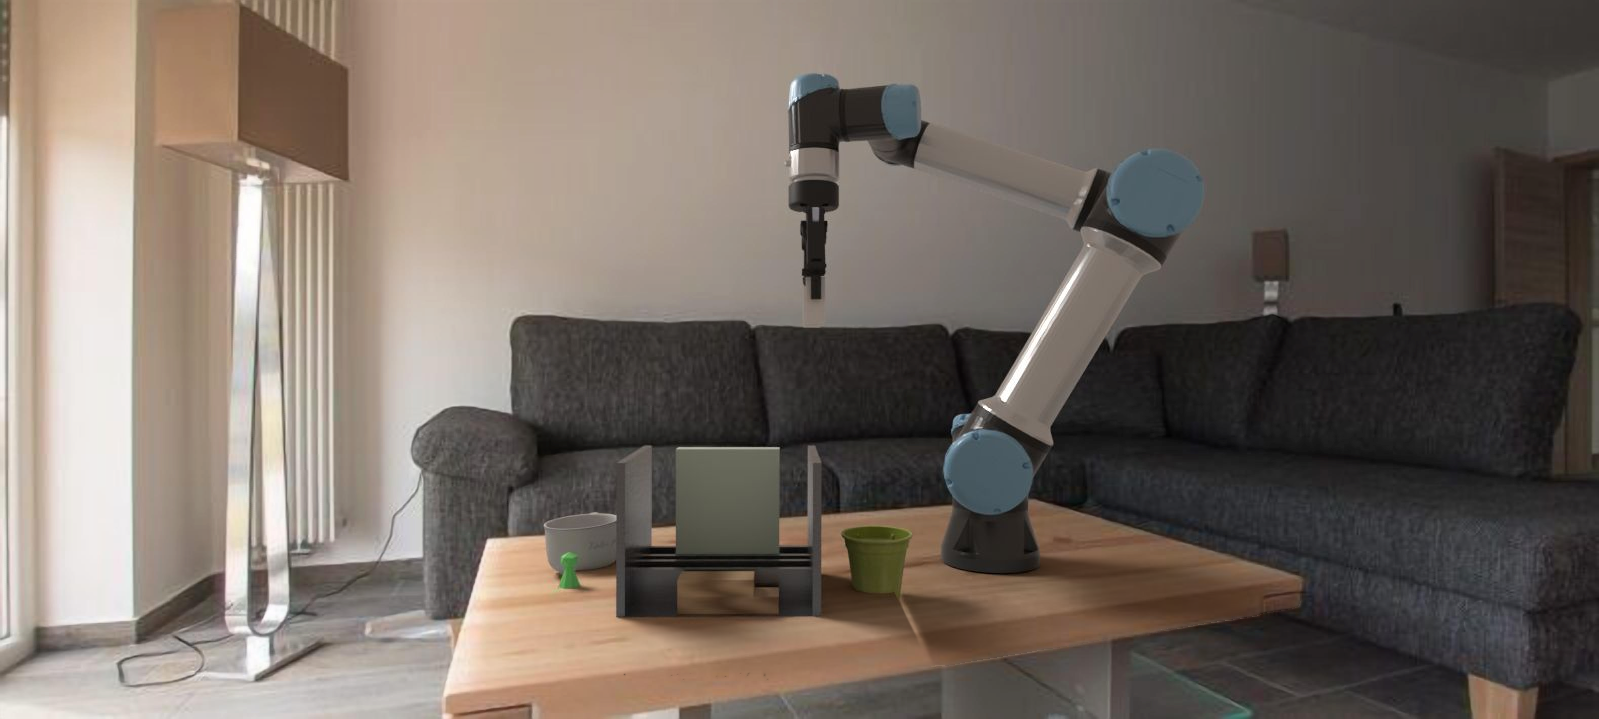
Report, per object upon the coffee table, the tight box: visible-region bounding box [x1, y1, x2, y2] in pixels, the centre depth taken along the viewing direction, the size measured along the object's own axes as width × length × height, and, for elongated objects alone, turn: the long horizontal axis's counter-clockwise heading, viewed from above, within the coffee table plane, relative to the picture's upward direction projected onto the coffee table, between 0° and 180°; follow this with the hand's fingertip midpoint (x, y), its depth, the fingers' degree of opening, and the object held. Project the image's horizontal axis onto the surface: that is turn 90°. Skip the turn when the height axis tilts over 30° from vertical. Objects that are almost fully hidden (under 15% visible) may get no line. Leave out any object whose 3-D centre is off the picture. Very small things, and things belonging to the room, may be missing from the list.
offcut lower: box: [677, 587, 779, 614], centre depth 99 cm, size 12×4×2 cm, turn 91°
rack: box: [615, 445, 823, 618], centre depth 105 cm, size 24×20×20 cm
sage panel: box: [675, 446, 781, 554], centre depth 112 cm, size 14×2×18 cm, turn 91°
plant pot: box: [840, 525, 913, 600], centre depth 108 cm, size 9×9×9 cm
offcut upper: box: [677, 571, 755, 597], centre depth 99 cm, size 9×4×2 cm, turn 91°
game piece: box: [552, 552, 581, 595], centre depth 109 cm, size 4×4×6 cm
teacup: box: [543, 511, 616, 576], centre depth 123 cm, size 14×11×8 cm
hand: (813, 325), depth 121 cm, fingers open, 13 cm apart
